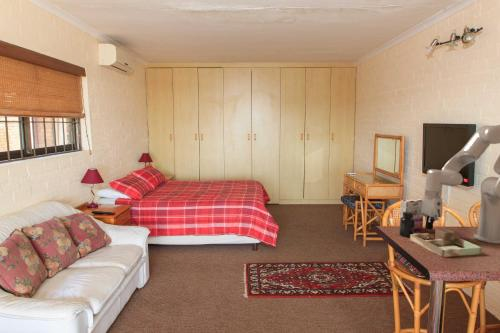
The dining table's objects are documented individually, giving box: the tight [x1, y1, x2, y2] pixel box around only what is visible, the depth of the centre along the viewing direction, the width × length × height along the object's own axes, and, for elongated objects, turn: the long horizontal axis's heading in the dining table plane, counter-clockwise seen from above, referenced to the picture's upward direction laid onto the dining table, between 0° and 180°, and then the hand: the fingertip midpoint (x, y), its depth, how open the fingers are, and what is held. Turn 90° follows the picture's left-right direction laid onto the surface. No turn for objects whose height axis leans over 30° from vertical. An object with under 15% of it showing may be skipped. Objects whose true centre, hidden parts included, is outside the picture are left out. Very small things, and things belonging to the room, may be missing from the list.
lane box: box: [409, 232, 466, 258], centre depth 167 cm, size 20×22×3 cm
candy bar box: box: [400, 198, 424, 231], centre depth 193 cm, size 11×5×16 cm, turn 105°
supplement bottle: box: [398, 212, 415, 238], centre depth 182 cm, size 7×7×12 cm
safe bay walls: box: [439, 240, 483, 257], centre depth 161 cm, size 19×9×3 cm, turn 102°
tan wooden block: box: [434, 228, 456, 246], centre depth 173 cm, size 6×6×6 cm
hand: (428, 228), depth 182 cm, fingers closed
